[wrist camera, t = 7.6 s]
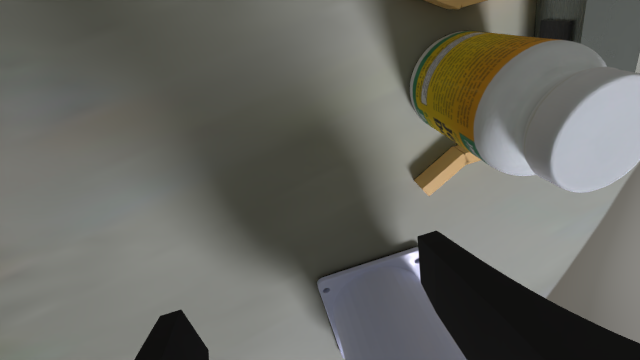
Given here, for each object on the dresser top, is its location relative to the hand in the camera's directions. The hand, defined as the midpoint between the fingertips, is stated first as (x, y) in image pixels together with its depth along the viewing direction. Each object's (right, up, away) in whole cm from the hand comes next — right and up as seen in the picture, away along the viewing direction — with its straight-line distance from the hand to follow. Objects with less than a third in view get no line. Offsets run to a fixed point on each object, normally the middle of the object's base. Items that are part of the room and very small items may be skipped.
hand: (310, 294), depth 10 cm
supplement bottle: (+8, +9, +9) cm, 15 cm away
